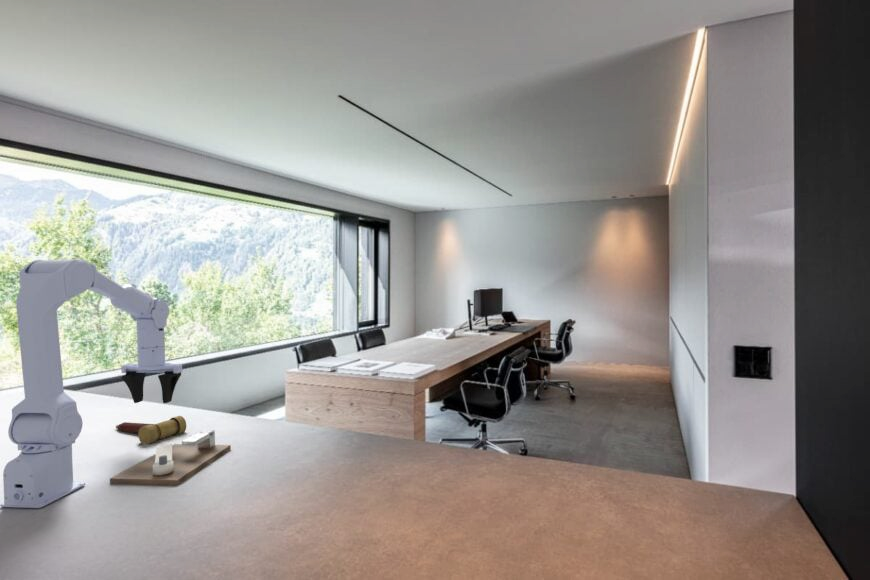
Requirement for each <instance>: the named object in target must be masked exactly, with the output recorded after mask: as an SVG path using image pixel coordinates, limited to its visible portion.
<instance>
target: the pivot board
mask: <svg viewBox="0 0 870 580" xmlns="http://www.w3.org/2000/svg"><path fill="white" fill-rule="evenodd" d="M172 449H173V453H172V461H173V462H174V470H173V471H172V472H170V473H168V474H164V475H153V464H155V457H156V453H155V454H153V455H151V456H149V457H147V458H146V459H144V460H142V461H140V462H137V463H136V464H133V466H130V467H129V468H126V469H125V470H123V471H121V472H119V473H117V474H116V475H114V476H112V477H109V484H112V485H113V484H114V485H115V484H116V485H118V484H119V485H120V484H121V485H153V486H157V485H158V486H179V485H180V484H182V483H183V482H184V481H186V480H187V479H189V478H191V477H192V476H193V475H196V473H198V472H199V471H201V470H202V469H203V468H206V467H207V466H208V465H210V464H211V463H213V462H214V461H216V460H217V459H218V458H220V457H222V456H223V455H225V454H226V453H227V452H229V451H231V444H215V446H214V447H212V448H210V449H202V448H198V444H197V445H196V446H182V443H172Z"/></svg>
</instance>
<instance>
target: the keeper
mask: <svg viewBox="0 0 870 580" xmlns="http://www.w3.org/2000/svg"><path fill="white" fill-rule="evenodd" d="M215 432H216V430H215V429H214V430H213V429H202V430H200V431H198V432H197V433H195V434H193V435H190V436H189V437H187V438H185V439H183V440H182V441H181V444H182V446H196V445H197V444H198V448H202V449H210V448H212V447H214V446H215V445H216V436H215V435H216V433H215Z"/></svg>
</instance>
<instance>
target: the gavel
mask: <svg viewBox="0 0 870 580" xmlns="http://www.w3.org/2000/svg"><path fill="white" fill-rule="evenodd" d="M115 429H116V430H118V431H120V432H121V433H122V432H123V433H130V434H131V433H133V434H138V440H139V442H140V444H143V445H150V444H153V443H156V442H157V441H158V440H162V439H165V438H167V437H171V436H173V435H174V434H175V435H180V434H182V432H183V433H185V432H186V430H187V421H186V419H185V418H184V417H183V416H182V415H177V416H173V417H171V418H170V419H168V420H165V421H161V422H159V423H155V424H154V423H142V422H126V421H125V422H122V423H119V424H117V425H116V426H115ZM179 433H180V434H179Z"/></svg>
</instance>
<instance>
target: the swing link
mask: <svg viewBox="0 0 870 580" xmlns="http://www.w3.org/2000/svg"><path fill="white" fill-rule="evenodd" d="M172 445H173V443H167V444H162V445H157V446H156V449H155V454H156V457H155V464H153V475H164V474H168V473H170V472H172V471H173V470H174V462H173V461H172V453H173V449H172Z"/></svg>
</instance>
